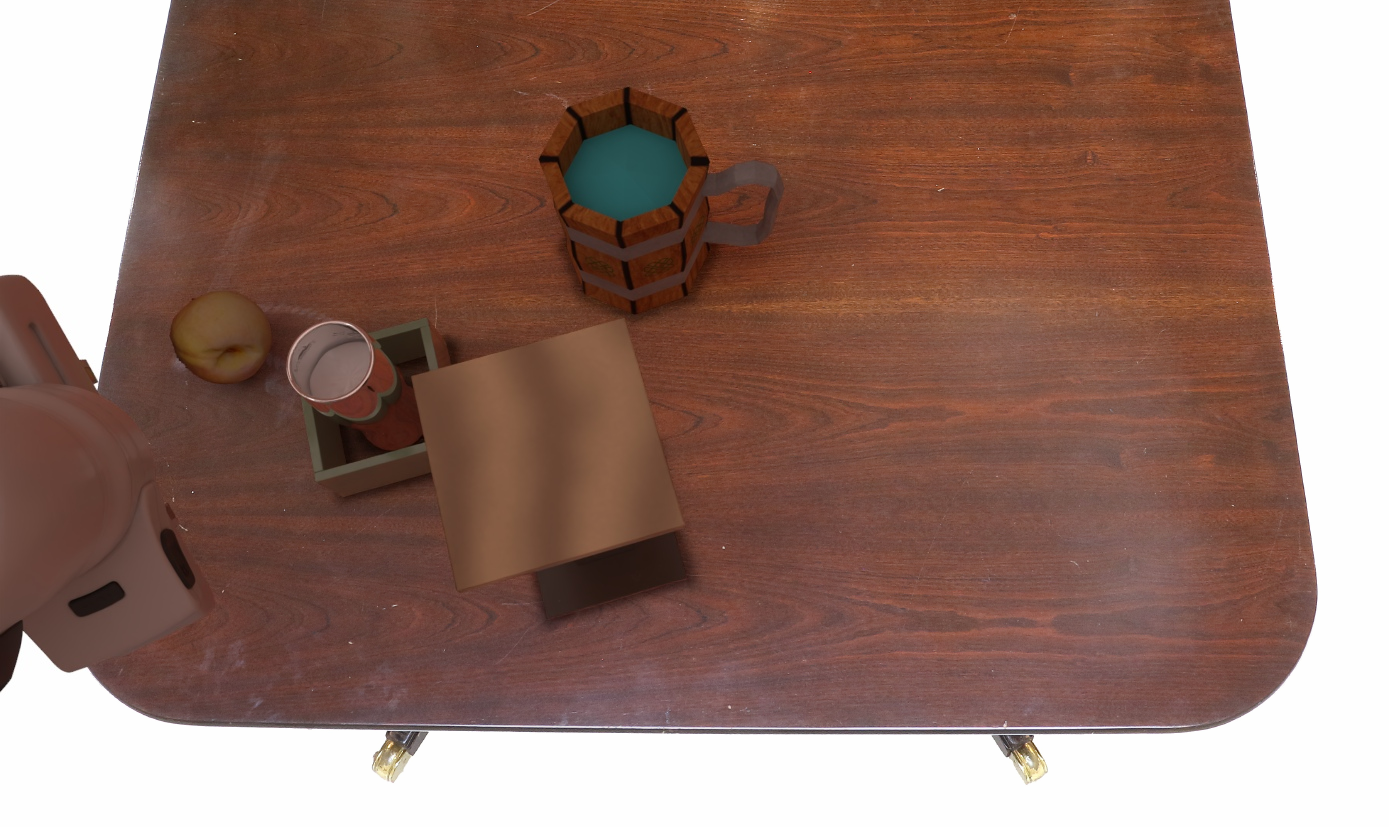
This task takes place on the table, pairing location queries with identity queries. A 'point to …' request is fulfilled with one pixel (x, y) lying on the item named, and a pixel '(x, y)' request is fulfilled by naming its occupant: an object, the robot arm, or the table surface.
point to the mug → (643, 198)
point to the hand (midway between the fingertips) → (120, 449)
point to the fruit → (221, 337)
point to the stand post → (611, 575)
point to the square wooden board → (544, 455)
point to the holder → (386, 467)
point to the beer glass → (354, 383)
